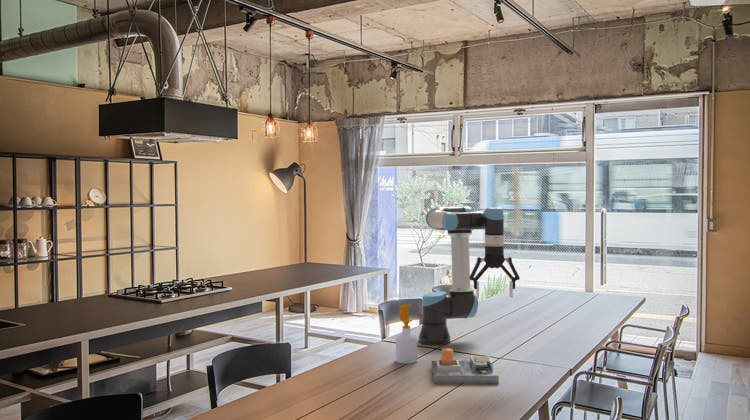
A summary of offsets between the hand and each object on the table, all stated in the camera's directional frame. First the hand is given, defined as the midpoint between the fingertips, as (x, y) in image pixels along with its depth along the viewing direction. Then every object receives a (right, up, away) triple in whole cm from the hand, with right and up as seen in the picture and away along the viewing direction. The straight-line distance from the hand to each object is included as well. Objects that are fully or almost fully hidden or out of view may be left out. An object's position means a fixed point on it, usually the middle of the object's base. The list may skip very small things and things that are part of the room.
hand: (494, 297), depth 252 cm
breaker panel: (-14, -29, -11) cm, 34 cm away
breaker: (-7, -23, -10) cm, 26 cm away
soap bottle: (-35, -29, +10) cm, 47 cm away
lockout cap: (-20, -26, -10) cm, 35 cm away
